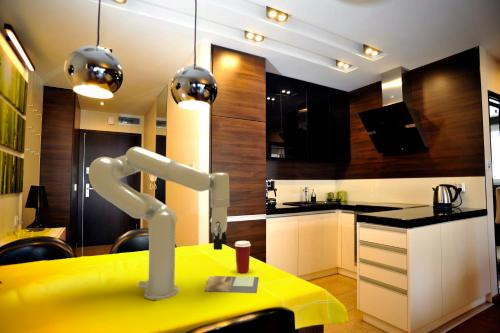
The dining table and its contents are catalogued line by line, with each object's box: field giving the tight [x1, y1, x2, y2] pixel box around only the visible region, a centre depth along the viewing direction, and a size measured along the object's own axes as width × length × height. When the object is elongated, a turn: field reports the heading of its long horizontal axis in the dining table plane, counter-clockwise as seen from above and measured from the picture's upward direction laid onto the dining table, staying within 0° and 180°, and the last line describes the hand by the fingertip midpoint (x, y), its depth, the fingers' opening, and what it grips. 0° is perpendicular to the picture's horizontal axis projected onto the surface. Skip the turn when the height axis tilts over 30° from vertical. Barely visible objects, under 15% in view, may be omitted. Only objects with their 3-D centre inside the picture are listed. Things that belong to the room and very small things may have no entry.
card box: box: [205, 275, 232, 291], centre depth 108 cm, size 9×6×4 cm, turn 85°
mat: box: [204, 275, 260, 294], centre depth 112 cm, size 20×18×1 cm
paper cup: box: [234, 240, 252, 275], centre depth 128 cm, size 8×8×14 cm
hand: (220, 246), depth 109 cm, fingers open, 9 cm apart
